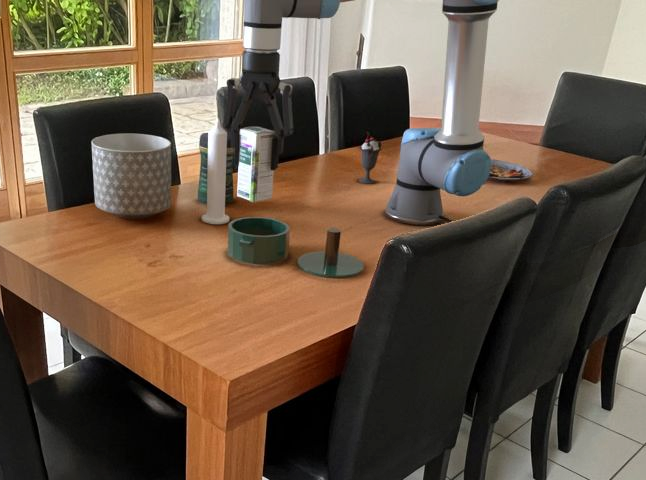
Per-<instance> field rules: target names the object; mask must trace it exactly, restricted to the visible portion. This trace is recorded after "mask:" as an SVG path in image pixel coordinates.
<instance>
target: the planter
mask: <svg viewBox="0 0 646 480" xmlns="http://www.w3.org/2000/svg"><path fill="white" fill-rule="evenodd" d="M91 158H92V175H93V193H94V195H93V196H94V205H95V207H96V208H98V209H99V210H101V211H104V212H106V213H109V214H111V215H112V216H115V217H117V218H120V219H124V220H131V221H138V220H144V219H148V218H151V217H153V216H155V215H158V214H159V213H161V212H165V211H167V210H168V209H169V208H170V207H171V205H172V143H171V141H170V140H168V139H167V138H164V137H162V136H158V135H152V134H146V133H145V134H144V133H111V134H104V135H101V136H97V137H94V138H93V139H92V140H91Z"/></svg>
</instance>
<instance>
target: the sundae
mask: <svg viewBox="0 0 646 480" xmlns="http://www.w3.org/2000/svg"><path fill="white" fill-rule="evenodd" d="M366 135H368V136H367V137H366V138H365V142H364V143H363V144H362V145H361V146H359V150H360V151H361V166H362V167H363V169H364V170H365V176H364V177H363V178H359V180H358V182H359V183H362V184H365V185H366V184H368V185H370V184H375V182H376V180H373V179H371V177H370V173H371V171H372V170H373V169H374V168H375V167H376V165H377V161H378V158H379V154H380V152H381V151H382V141H381V140H379V141H377V140H376V139H375V138H374V137H373V136H371V134H370V132H369V131H366ZM369 136H370V138H369Z"/></svg>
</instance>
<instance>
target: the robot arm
mask: <svg viewBox="0 0 646 480" xmlns="http://www.w3.org/2000/svg"><path fill="white" fill-rule="evenodd" d="M353 1H355V0H243V26H242V27H243V28H242V47H243V49H244V50H243V51H242V52H241V74H240V76H239V77H238V78H235V77H232V78H229V79H226V88H227V93H226V95H227V96H226V102H225V108H224V113H223V120H222V129H224V130H227V131H229V132H231V147H232V148H235V151H234V163H233V165H234V166H238V165H239V137H240V129H242V128H241V127H242V125H243V123H244V121H245V117H246V115H247V113H248V110H249V108H250V106H251V103H252V102H253V101H254V100H259V101H261V102H262V101H263V102H264V104H265V106H266V107H267V112H268V114H269V117H270V121H271V124H272V126H273V127H272V129H273V131H275V134H276V136H275V137H274V138H272V153H271V170H274V171H275V170H277V169H278V168H279V155H281V154H283V152H284V148H285V147H284V146H285V145H284V144H285V138H286V137H289V136H291V135H293V133H294V122H293V121H294V119H293V118H294V117H293V104H292V95H293V92H294V85H293V83H289V84H288V83H285V82H282V80H281V79H280V65H281V64H280V63H281V54H280V52H279V50H280V49H281V42H282V28H283V27H282V26H283V18H284V19H289V18H294V19H318V20H321V19H331V18H332V17H334V16H335V15H336V14H337V12H338V10H339V8H340V5H341V3H347V2H353ZM499 1H500V0H442V6H441V8H442V10H441V12H442V14H443V15H444V16H445V17H446V19H447V21H448V23H447V24H448V25H447V39H446V40H447V41H446V52H445V53H446V54H445V55H446V56H445V69H444V70H445V71H444V82H443V83H444V84H443V97H442V110H441V111H442V113H441V124H440V125H441V127H412V128H411V127H410V128H407V129H406V130H405V131H404V132H403V135H402V139H401V143H400V151H399V160H398V166H397V174H396V182H395V187H394V188H393V190H392V192H391V195H390V197H389V199H388V201H387V203H386V206H385V210H384V215H385V216H386V217H387V218H388V219H390V220H392V221H395V222H398V223H401V224H406V225H413V226H431V225H436V224H439V223H441V222H442V221H444V222H447V223H449V222H451V221H454V220H453V219H450V218H448V217H445V216H444V209H443V202H442V195H441V194H442V193H441V191H444V192H446V194H447V193H448V194H449V195H455V196H457V197H468V196H471V195H473V194H475V193H476V192H478V191H479V190H480V189H481V188H482V186H484V185H485V184H486V182H487V181H488V179H489V178H488V177H489V175H490V172H491V167H492V162H491V159H492V158H491V156H490V155H489V153H488V152H487V151H486V150H485V149H484V143H485V135H484V134H483V133H482V132H481V131H480V130H479V129H480V128H479V127H480V116H481V115H480V114H481V106H482V105H481V104H482V95H483V94H482V93H483V86H484V85H483V84H484V74H485V62H486V54H487V53H486V52H487V41H488V33H489V32H488V31H489V21H490V18H491V17H492V16H493V15H494V14H495V13H496V12H497V11H498V2H499ZM240 86H241V88H242V90H243V91H244V94H243V96H242V99H241V103H240V104H239V108H238V110H237V113H236V115H235V118H234V114H235V108H236V102H237V96H238V90H239V88H240ZM278 90H280V95H281V99H282V100H281V104H282V118H283V119H282V118H281V115H280V112H279V108H278V105H277V99H276V96H275V93H276V92H277V91H278ZM282 120H283V122H282Z"/></svg>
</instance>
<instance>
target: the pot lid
mask: <svg viewBox="0 0 646 480" xmlns="http://www.w3.org/2000/svg"><path fill="white" fill-rule="evenodd" d="M341 235H342V230H341V229H340V228H337V227H336V228H335V227H328V228H327V229H326V237H325V247H324V250H323V251H321V250H320V251H312V252H307V253H304V254H301V255H300V256H299V257H298V258H297V263H296V264H297V267H298V268H299V269H300V270H301V271H304V272H305V273H307V274H310V275H312V276H317V277H321V278H327V279H328V278H329V279H347V278H352V277H355V276H356V277H357V276H358V275H360V274H361V273H363V271H364V269H365V268H364V267H365V265H364V263H363V261H361V260H360V259H359V258H357V257H355V256H353V255H350V254H347V253H343V252H342V253H341V252H340V244H341Z"/></svg>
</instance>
